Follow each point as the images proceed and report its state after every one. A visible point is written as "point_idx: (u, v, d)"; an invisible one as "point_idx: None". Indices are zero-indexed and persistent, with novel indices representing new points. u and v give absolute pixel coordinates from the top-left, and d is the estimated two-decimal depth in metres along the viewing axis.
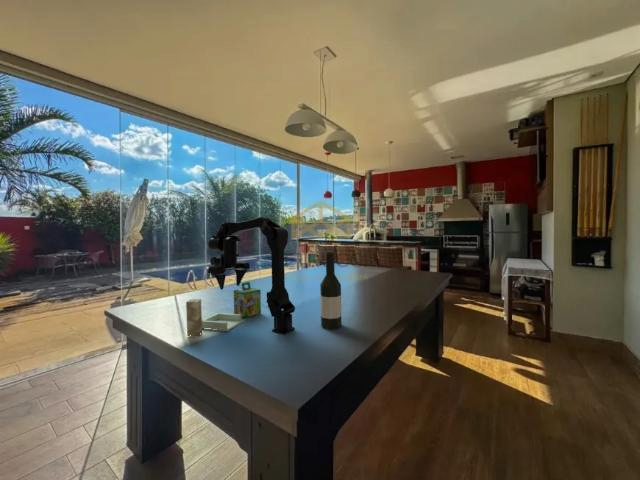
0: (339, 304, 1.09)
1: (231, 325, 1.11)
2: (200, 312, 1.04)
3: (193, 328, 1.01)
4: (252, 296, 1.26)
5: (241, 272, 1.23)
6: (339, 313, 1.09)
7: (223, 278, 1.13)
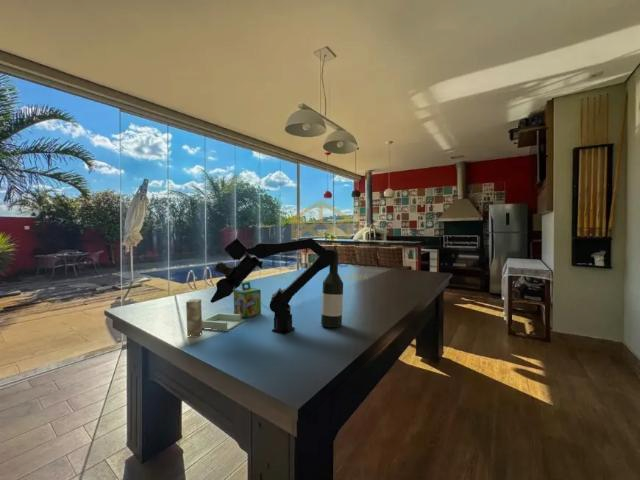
0: (340, 302, 1.09)
1: (231, 325, 1.11)
2: (200, 312, 1.04)
3: (193, 328, 1.01)
4: (252, 296, 1.26)
5: None
6: (340, 312, 1.09)
7: None
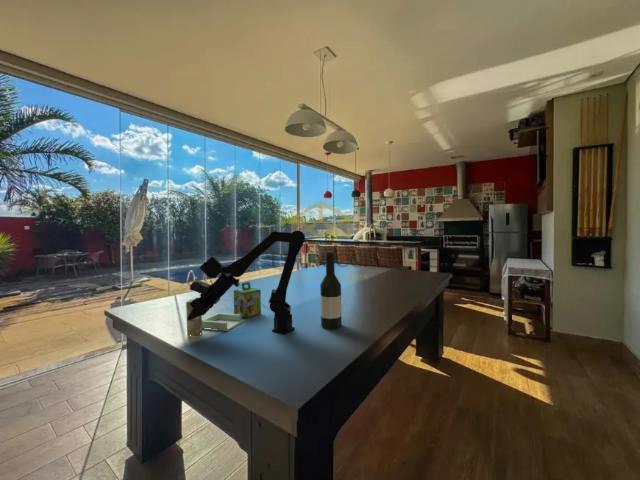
0: (339, 304, 1.09)
1: (231, 325, 1.11)
2: None
3: (193, 328, 1.01)
4: (252, 296, 1.26)
5: None
6: (339, 313, 1.09)
7: (201, 314, 1.00)
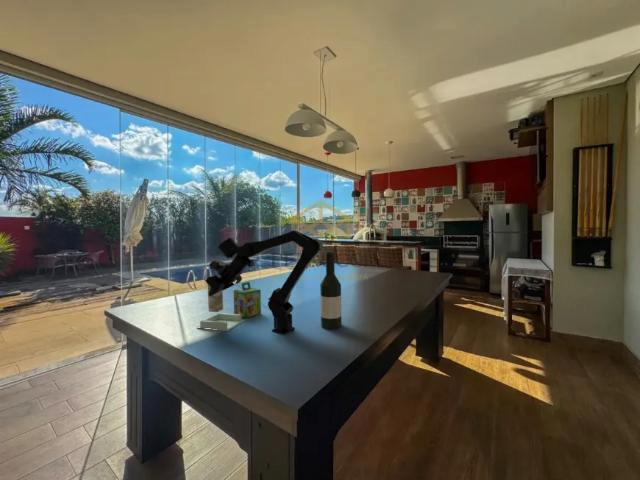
0: (339, 304, 1.09)
1: (231, 325, 1.11)
2: None
3: (213, 303, 1.10)
4: (252, 296, 1.26)
5: (227, 285, 1.14)
6: (339, 313, 1.09)
7: (219, 291, 1.08)
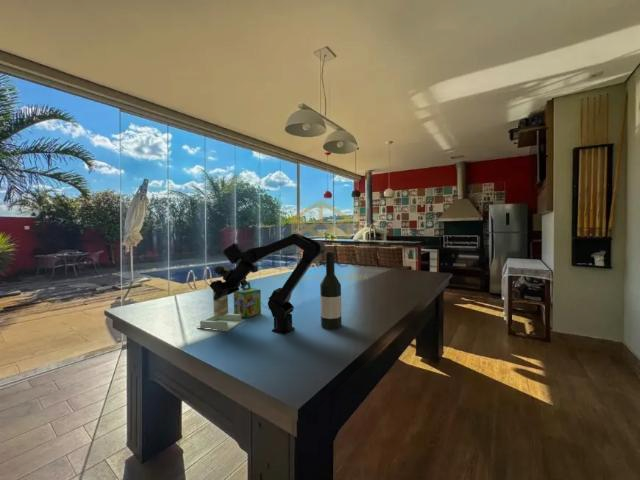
0: (339, 304, 1.09)
1: (231, 325, 1.11)
2: None
3: (218, 307, 1.12)
4: (252, 296, 1.26)
5: (232, 290, 1.15)
6: (339, 313, 1.09)
7: None
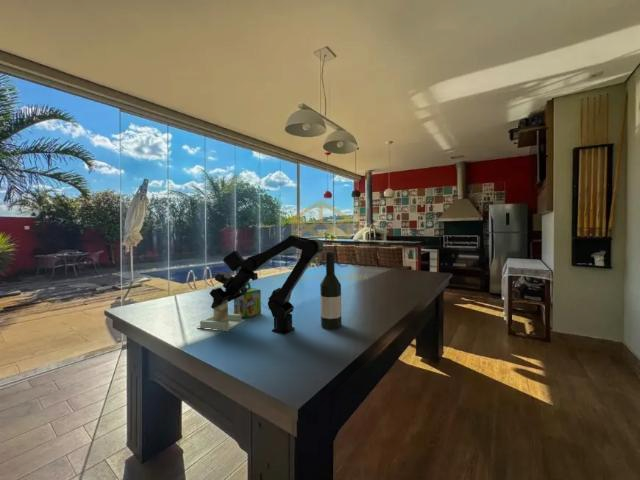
0: (339, 304, 1.09)
1: (231, 325, 1.11)
2: (226, 303, 1.14)
3: (218, 317, 1.12)
4: (252, 296, 1.26)
5: (234, 296, 1.17)
6: (339, 313, 1.09)
7: (221, 304, 1.08)
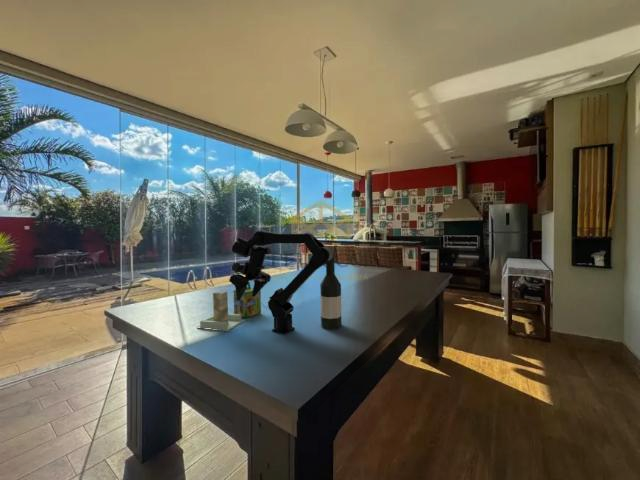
0: (339, 304, 1.09)
1: (231, 325, 1.11)
2: (226, 303, 1.14)
3: (218, 317, 1.12)
4: (252, 296, 1.26)
5: (260, 284, 1.14)
6: (339, 313, 1.09)
7: (243, 290, 1.04)
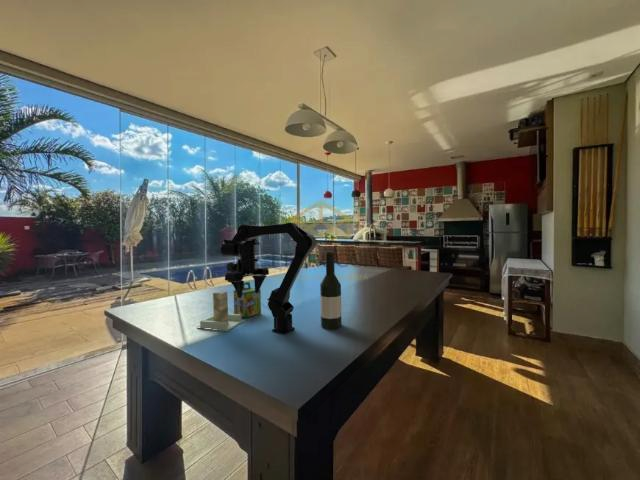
0: (339, 304, 1.09)
1: (231, 325, 1.11)
2: (226, 303, 1.14)
3: (218, 317, 1.12)
4: (252, 296, 1.26)
5: (260, 278, 1.13)
6: (339, 313, 1.09)
7: (241, 285, 1.04)
